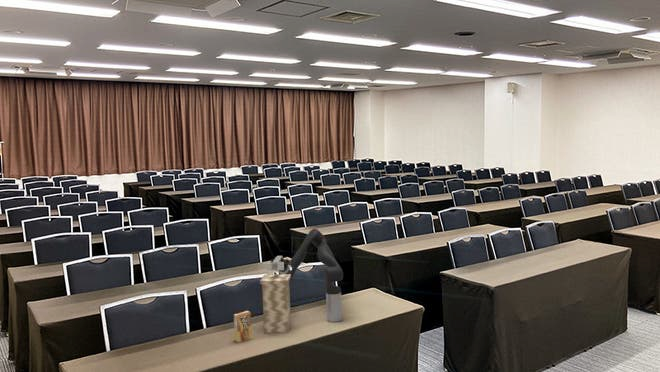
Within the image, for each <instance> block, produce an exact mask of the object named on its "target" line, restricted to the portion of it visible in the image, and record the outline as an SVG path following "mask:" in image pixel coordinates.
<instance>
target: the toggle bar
mask: <svg viewBox="0 0 660 372" xmlns="http://www.w3.org/2000/svg"><path fill="white" fill-rule="evenodd" d="M274 258H275V260H274V259H273V260H274V261H273V262H272V263H270V262H266V264H265V267H266V270H265V271H278V270H284V262H281V258H284V256H283V255H277V256H276V257H274Z"/></svg>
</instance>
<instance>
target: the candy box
mask: <svg viewBox="0 0 660 372" xmlns="http://www.w3.org/2000/svg"><path fill="white" fill-rule="evenodd" d="M233 323H234V340H235V341H236V342H237V343H241V342H244V341H247V340H251V339H252V338H253V335H252V334H253V333H252V331H253V330H252V313H251V311H249V310H245V311H242V312H238V313H235V314H233Z"/></svg>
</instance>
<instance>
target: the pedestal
mask: <svg viewBox="0 0 660 372" xmlns="http://www.w3.org/2000/svg"><path fill="white" fill-rule="evenodd" d="M290 278H291V274H279V273H277V274H264V275H263V276H262V278H261V279H260V280H259V284H260V285H261V290H262V291H261V292H262V309H263V311H262V312H263V314H262V315H263V329H264V330H263V331H264V332H263V333H265V334H269V333H274V334H275V333H289V331H290V328H291V326H292V318H291V317H292V316H291V315H292V314H291V297H290V296H291V295H290V291H291V290H290V281H291V280H290ZM289 280H290V281H289Z"/></svg>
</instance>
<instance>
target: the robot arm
mask: <svg viewBox="0 0 660 372" xmlns="http://www.w3.org/2000/svg"><path fill="white" fill-rule="evenodd" d="M311 243H312V244H313V245H314V247H316V249H317V252H316V255H317V257H318V259H319V261H320V263H321V264H323V265H325V266H326V267H325V268H324V281H325V284H324V285H325V300H326V302H325V303H326V304H325V305H326V320H327V322H331V323H339V322H342V321H343V306H342V289H341V287H340V286H338V285H334V284H332V283H335V282H340V281H342V280H343V278H344V272H343V269H342V267H341V266H340V264H339V263H338V262H337V260H336V258H335V256H334V254H333V252H332V249H330V247H329V245H328V243H327V240H326V238H325V235H324V234H323V233H322V232H321V231H319V229H317V228H312V229H310V231H309V232H307V234H306V237H305V238H304V239H303V241H302V243H301V244H300V246H299V248H298V250H297V251H296V252H295V254H294V255H293V257H292V258H291V259H288V258H284V257H283V258H281V262H284V270H277V272H278V274H291V278H290V280H289V282H290V281H291V280H293V279H294V277H295V275H296V272H297V270H298V268H299V267H300V265H301V264H302V263H303V262H304V260H305V258H306V254H307V250H308V248H309V245H310V244H311ZM275 258H276V257H274V258H273V259H271V260H270V262H269V263H272V262H273V261H274V260H275ZM290 268H291V269H290Z"/></svg>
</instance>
